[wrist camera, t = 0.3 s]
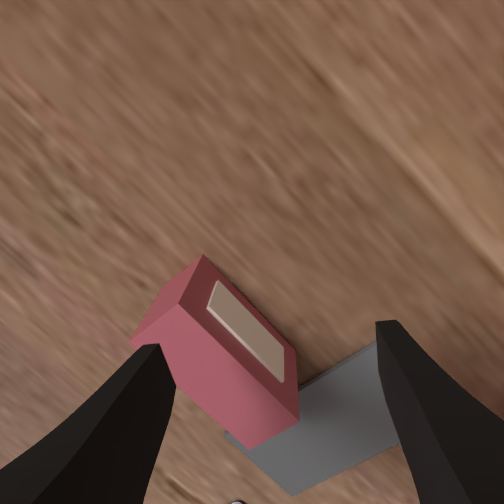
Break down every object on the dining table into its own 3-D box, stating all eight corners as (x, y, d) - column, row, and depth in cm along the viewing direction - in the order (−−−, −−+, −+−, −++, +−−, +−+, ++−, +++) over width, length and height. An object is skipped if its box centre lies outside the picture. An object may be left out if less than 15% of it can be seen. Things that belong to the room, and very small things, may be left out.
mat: (291, 491, 30) (291, 496, 29) (224, 431, 28) (224, 436, 28) (450, 411, 26) (453, 416, 25) (384, 335, 24) (386, 338, 23)
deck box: (256, 375, 26) (249, 450, 20) (164, 285, 24) (128, 342, 18) (298, 348, 25) (302, 420, 19) (205, 251, 23) (181, 300, 17)
